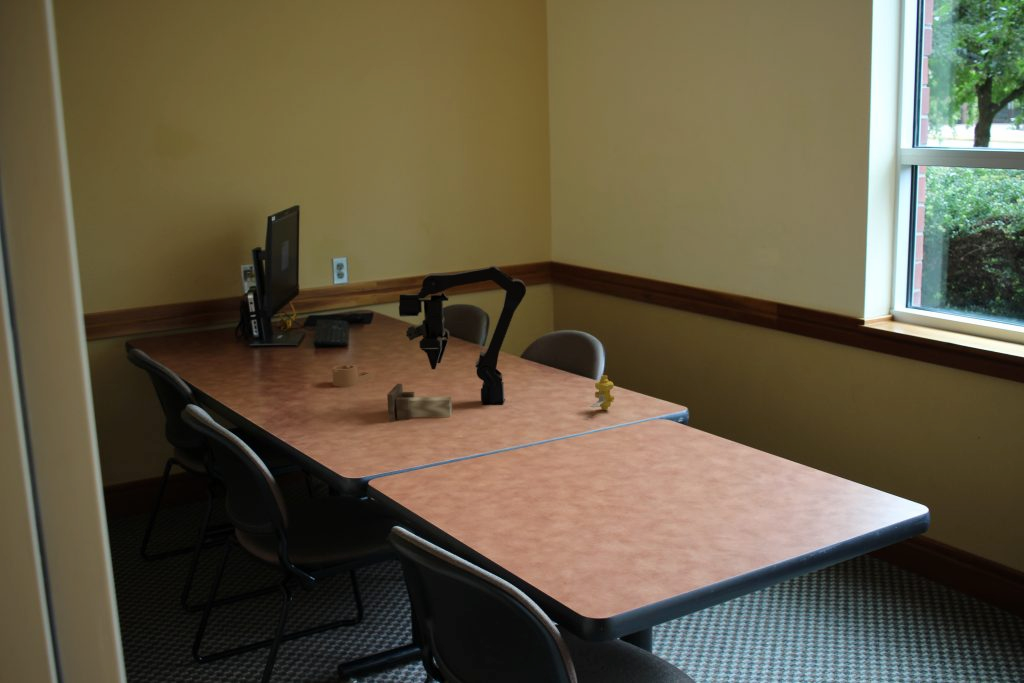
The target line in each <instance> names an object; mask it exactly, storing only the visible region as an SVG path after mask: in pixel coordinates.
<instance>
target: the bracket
mask: <svg viewBox="0 0 1024 683" xmlns="http://www.w3.org/2000/svg"><path fill="white" fill-rule="evenodd" d="M331 372H332V386H333V385H334V386H333V387H335V386H338V387H337V388H350V386H352V387H355V385H356V386H358V385H360V384H363V383H366V382H368V381H370V380H374V379H376V378H375V377H376V375H375V372H374V371H373V370H372V371H370V370H361V371H360V370H359V371H358V365H356V364H351V365H349V364H340V365H335V366H332V368H331Z"/></svg>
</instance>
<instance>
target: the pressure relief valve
mask: <svg viewBox="0 0 1024 683" xmlns="http://www.w3.org/2000/svg"><path fill="white" fill-rule="evenodd" d="M594 387H595V389H596V390H598V391H595V392H594V397H595V399H598V400H597V401H596V402H594V403H591V404H590V405H589V407H591V408H599V407H600V408H601V410H604V411H607V410H608V409H609V407H611V405H612V403H614V400H615V396H614V395H611V390H613V389H614V383H613V381H611V380H609V379H608V375H605V374H604V375H603V374H602V375H601V376H600V380H599V381H596V382H595V383H594Z"/></svg>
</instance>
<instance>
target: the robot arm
mask: <svg viewBox="0 0 1024 683" xmlns="http://www.w3.org/2000/svg"><path fill="white" fill-rule="evenodd" d="M487 281H492V282H494V283H495V284H496V285H497V286H499V287H500V288H501V289H503V290H504V291H505V294H504V300H503V306H502V309H501V311H500V314H499V316H498V319H497V321H496V324H495V328H494V330H493V333H492V335H491V338H490V340H489V343H488V347H487V348H486V350H484V352H483V351H481V350H480V351H479V355H478V359H477V360H476V361H475V368H476V376H477V377H478V378H479V379H480V380H481V381H482V382H483V383H482V386H481V388H480V402H481V405H482V406H503V405H504V404H505V401H506V398H505V387H504V386H505V385H504V381H503V373H502V372H501V371H499V370H498V369H497V366H498V359H499V354H500V351H501V348H502V346H503V343H504V340H505V337H506V335H507V332H508V330H509V327H510V324H511V322H512V319H513V317H514V314H515V313H516V312H515V311H516V310H517V308H519V305H520V304H521V302H522V301H523V299H524V297H526V296H525V295H526V293H527V292H526V291H527V288H526V285H525V283H524V281H523V280H521V279H520V278H513V277H511V276H510V275H508V274H507V273H505V272H504V271H502V270H500V269H499V267H498V266H496V265H491V266H488V267H483V268H482V267H481V268H478V269H471V270H466V271H459V272H454V273H445V272H439V273H438V272H437V273H436V272H435V273H434V272H433V273H429V274H427V275H426V276H424V278H423V281H422V284H421V285H422V288H421V289H420V290H418V292H417V293H412V294H410V293H409V294H408V293H400V294H399V301H398V302H399V303H398V304H399V305H398V313H399V317H403V318H404V317H405V318H406V317H419V315H420V313H421V314H422V313H424V314H423V315H424V319H423V320H422V323H421V324H418V325H411V326H409V327H407V330H406V331H405V332H406V337H407V338H408V340H409V341H414V340H415V339H417V338H419V337H421V336H422V339H421V340H419V349H420V350H421V351H423V352H424V353H425V354H426V356H427V359H428V361H429V362H428V363H429V365H430V369H431V370H436V368H437V365H438V364H441V362H442V360H443V356H444V354H445V351H446V347H447V345H448V343H449V341H450V340H449V338H450V331H449V329H447V328H445V326H444V325H445V317H444V306H443V305H444V302H445V301H446V302H448V301H449V299H450V297H449V296H447V295H446V293H445V292H444V291H447V290H449V289H451V288H454V287H459V286H465V285H466V286H467V285H469V284H470V285H472V284H476V283H481V282H482V283H483V282H487ZM441 292H442V293H441ZM438 293H439V294H438ZM429 295H430V297H428V296H429ZM427 297H428V298H427Z"/></svg>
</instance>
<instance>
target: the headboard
mask: <svg viewBox="0 0 1024 683" xmlns="http://www.w3.org/2000/svg"><path fill="white" fill-rule="evenodd" d="M386 396H387V414H388V423H389V422H391V423H392V422H393V423H394V422H395V421H396V420H399V421H401V420H410V419H411V417H410V401H409V398H401V397H415V391H403V383H396V384H395V385H394V387H393V388H392V389H391V390H390V391H389V392H388V393H387V394H386Z"/></svg>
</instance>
